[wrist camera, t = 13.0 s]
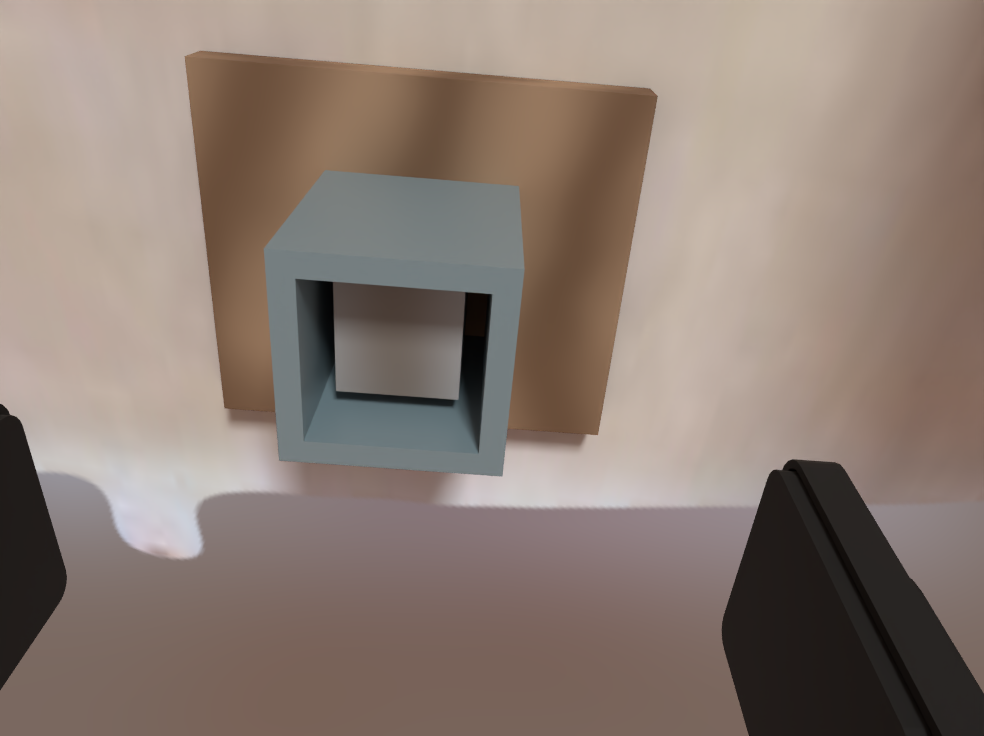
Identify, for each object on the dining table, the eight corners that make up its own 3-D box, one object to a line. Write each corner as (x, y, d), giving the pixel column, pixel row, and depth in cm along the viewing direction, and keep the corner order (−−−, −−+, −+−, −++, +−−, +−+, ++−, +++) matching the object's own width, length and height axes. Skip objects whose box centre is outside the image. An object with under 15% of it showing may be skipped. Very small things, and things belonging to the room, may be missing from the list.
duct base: (649, 88, 27) (696, 134, 21) (594, 415, 34) (615, 529, 27) (200, 51, 27) (102, 85, 20) (235, 390, 34) (170, 498, 27)
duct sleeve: (519, 185, 27) (524, 269, 20) (502, 355, 31) (502, 476, 24) (325, 170, 27) (263, 248, 20) (329, 342, 31) (279, 460, 24)
